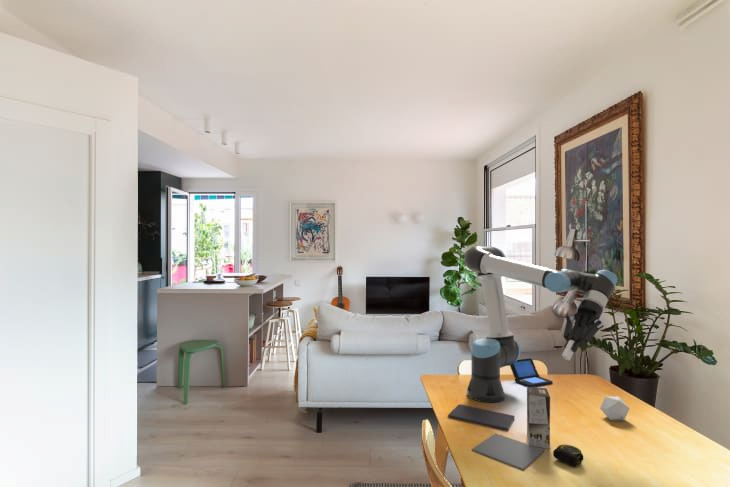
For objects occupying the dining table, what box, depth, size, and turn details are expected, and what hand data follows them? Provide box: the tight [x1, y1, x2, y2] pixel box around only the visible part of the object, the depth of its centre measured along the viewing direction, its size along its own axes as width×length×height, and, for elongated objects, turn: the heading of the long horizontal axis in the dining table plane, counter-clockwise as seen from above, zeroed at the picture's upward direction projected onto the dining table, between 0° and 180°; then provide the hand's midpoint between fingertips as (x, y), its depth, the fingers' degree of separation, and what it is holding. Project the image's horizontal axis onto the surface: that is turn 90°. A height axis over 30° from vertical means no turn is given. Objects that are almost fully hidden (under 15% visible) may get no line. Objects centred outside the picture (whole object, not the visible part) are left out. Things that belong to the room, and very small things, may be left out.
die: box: [599, 396, 631, 421], centre depth 149 cm, size 8×9×10 cm
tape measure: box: [552, 444, 584, 468], centre depth 117 cm, size 7×7×4 cm
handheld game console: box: [509, 357, 553, 387], centre depth 191 cm, size 16×13×9 cm
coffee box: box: [526, 386, 551, 450], centre depth 130 cm, size 9×6×16 cm
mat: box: [471, 433, 545, 472], centre depth 123 cm, size 16×16×1 cm
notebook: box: [447, 403, 515, 432], centre depth 148 cm, size 13×2×21 cm
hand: (565, 357), depth 137 cm, fingers closed
